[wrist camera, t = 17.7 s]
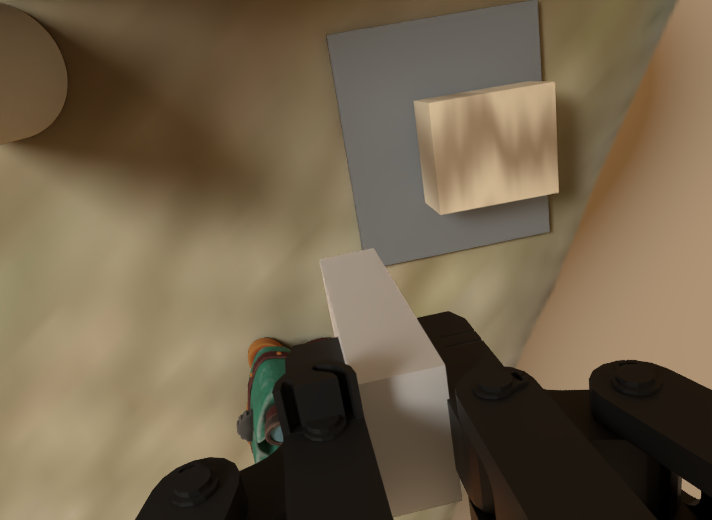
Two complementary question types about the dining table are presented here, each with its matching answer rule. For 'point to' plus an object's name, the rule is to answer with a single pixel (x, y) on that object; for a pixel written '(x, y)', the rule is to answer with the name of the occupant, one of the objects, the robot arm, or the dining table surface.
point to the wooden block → (488, 146)
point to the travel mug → (28, 76)
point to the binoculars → (263, 397)
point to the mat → (398, 124)
